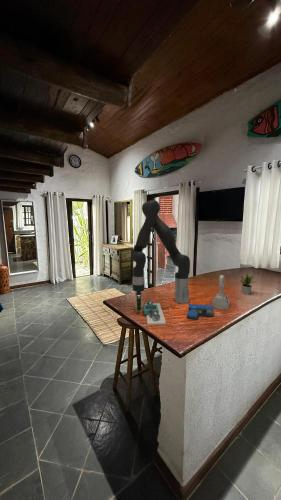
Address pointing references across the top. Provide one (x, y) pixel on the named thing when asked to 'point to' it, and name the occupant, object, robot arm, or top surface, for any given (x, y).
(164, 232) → the robot arm
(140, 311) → the yellow cube
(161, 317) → the base plate
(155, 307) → the cradle
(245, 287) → the house plant
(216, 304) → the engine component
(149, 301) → the shaft
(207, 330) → the top surface
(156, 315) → the shaft
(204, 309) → the stun gun
